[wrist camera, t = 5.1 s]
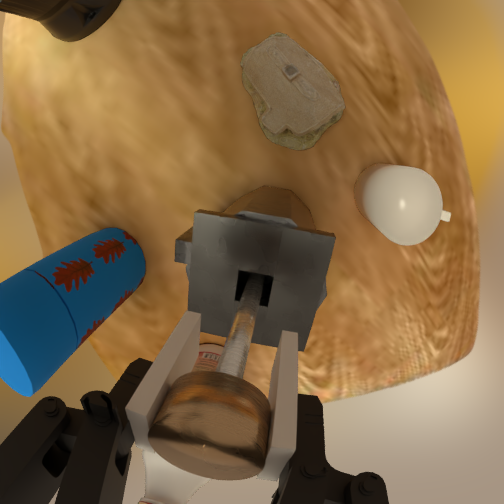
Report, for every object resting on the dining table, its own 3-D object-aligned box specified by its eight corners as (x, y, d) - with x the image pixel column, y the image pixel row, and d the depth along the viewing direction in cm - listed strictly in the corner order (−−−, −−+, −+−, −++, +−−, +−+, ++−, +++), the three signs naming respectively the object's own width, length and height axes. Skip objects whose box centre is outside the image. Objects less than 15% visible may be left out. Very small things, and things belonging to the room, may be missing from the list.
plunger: (221, 209, 23) (75, 339, 6) (316, 226, 23) (366, 406, 6) (212, 293, 26) (120, 463, 9) (296, 310, 25) (290, 504, 9)
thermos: (159, 258, 39) (38, 371, 16) (129, 305, 43) (32, 411, 19) (105, 211, 38) (-35, 278, 14) (82, 262, 41) (-30, 340, 18)
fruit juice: (232, 338, 42) (175, 511, 16) (249, 381, 44) (215, 536, 18) (178, 344, 44) (99, 489, 18) (199, 385, 46) (145, 521, 20)
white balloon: (360, 156, 31) (383, 157, 23) (429, 177, 30) (465, 185, 22) (348, 216, 34) (366, 237, 25) (416, 232, 33) (447, 255, 25)
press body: (218, 178, 34) (158, 200, 18) (320, 196, 33) (346, 233, 17) (209, 254, 38) (155, 324, 22) (304, 271, 37) (310, 356, 21)
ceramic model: (361, 116, 30) (387, 103, 20) (285, 163, 33) (284, 167, 24) (292, 29, 27) (292, -9, 17) (218, 75, 30) (193, 50, 21)
